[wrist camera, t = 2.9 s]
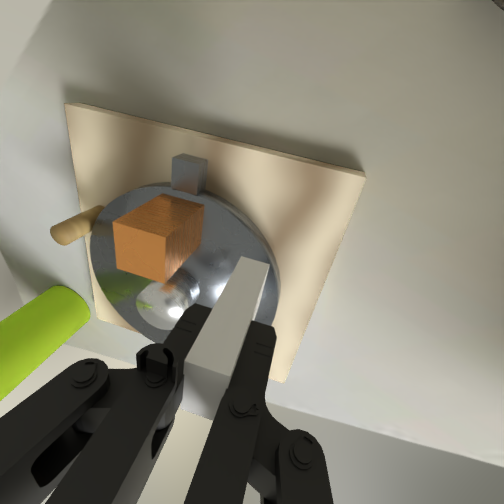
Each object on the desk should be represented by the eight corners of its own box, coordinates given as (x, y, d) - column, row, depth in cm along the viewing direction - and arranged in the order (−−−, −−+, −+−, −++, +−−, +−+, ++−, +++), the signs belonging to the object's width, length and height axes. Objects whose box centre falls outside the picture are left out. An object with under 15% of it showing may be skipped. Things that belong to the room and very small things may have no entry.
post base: (364, 172, 19) (375, 200, 14) (286, 371, 30) (276, 426, 25) (79, 103, 22) (2, 105, 17) (106, 309, 33) (65, 348, 28)
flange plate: (259, 366, 27) (239, 436, 21) (110, 315, 29) (58, 366, 23) (314, 186, 18) (305, 228, 12) (88, 129, 19) (-8, 142, 14)
